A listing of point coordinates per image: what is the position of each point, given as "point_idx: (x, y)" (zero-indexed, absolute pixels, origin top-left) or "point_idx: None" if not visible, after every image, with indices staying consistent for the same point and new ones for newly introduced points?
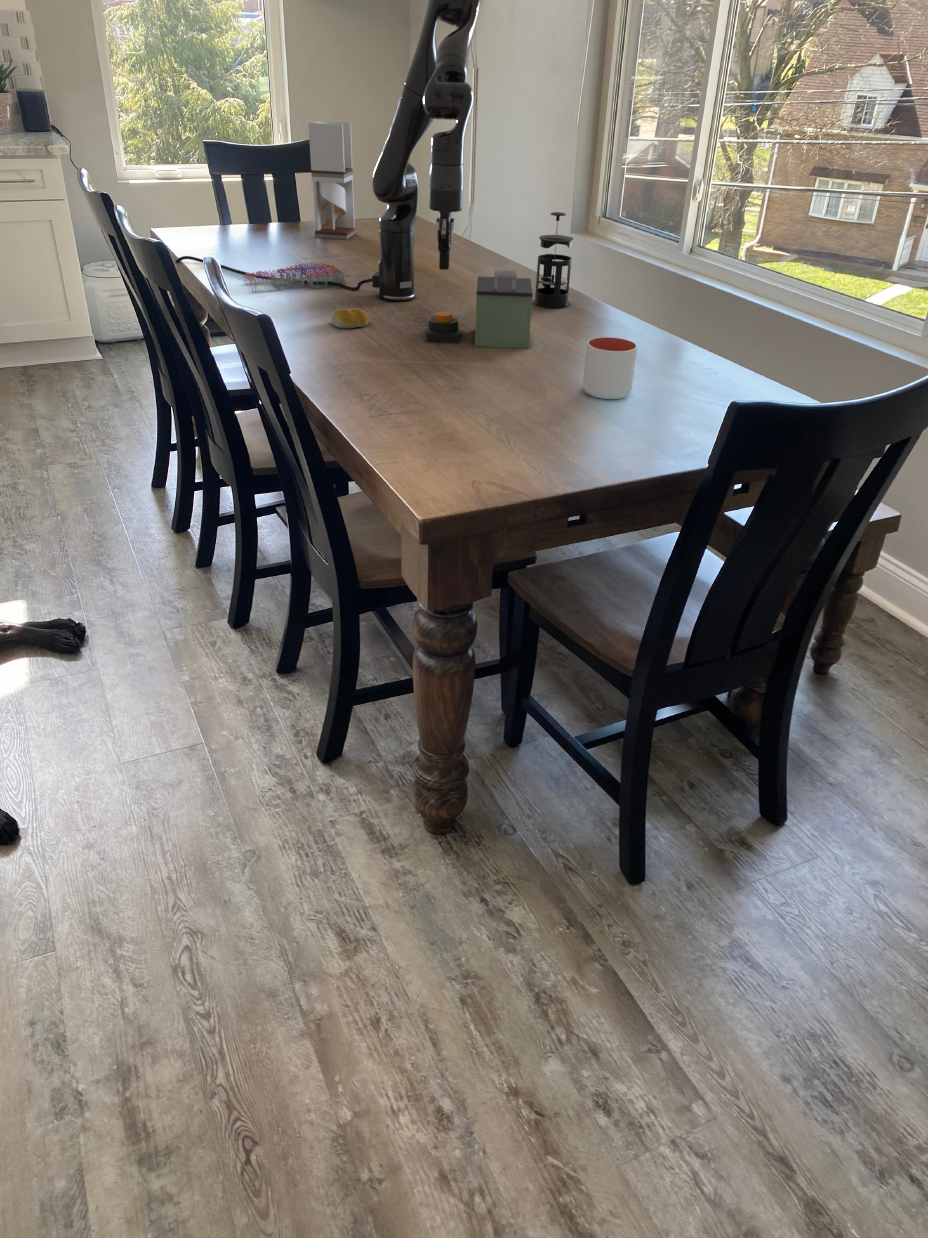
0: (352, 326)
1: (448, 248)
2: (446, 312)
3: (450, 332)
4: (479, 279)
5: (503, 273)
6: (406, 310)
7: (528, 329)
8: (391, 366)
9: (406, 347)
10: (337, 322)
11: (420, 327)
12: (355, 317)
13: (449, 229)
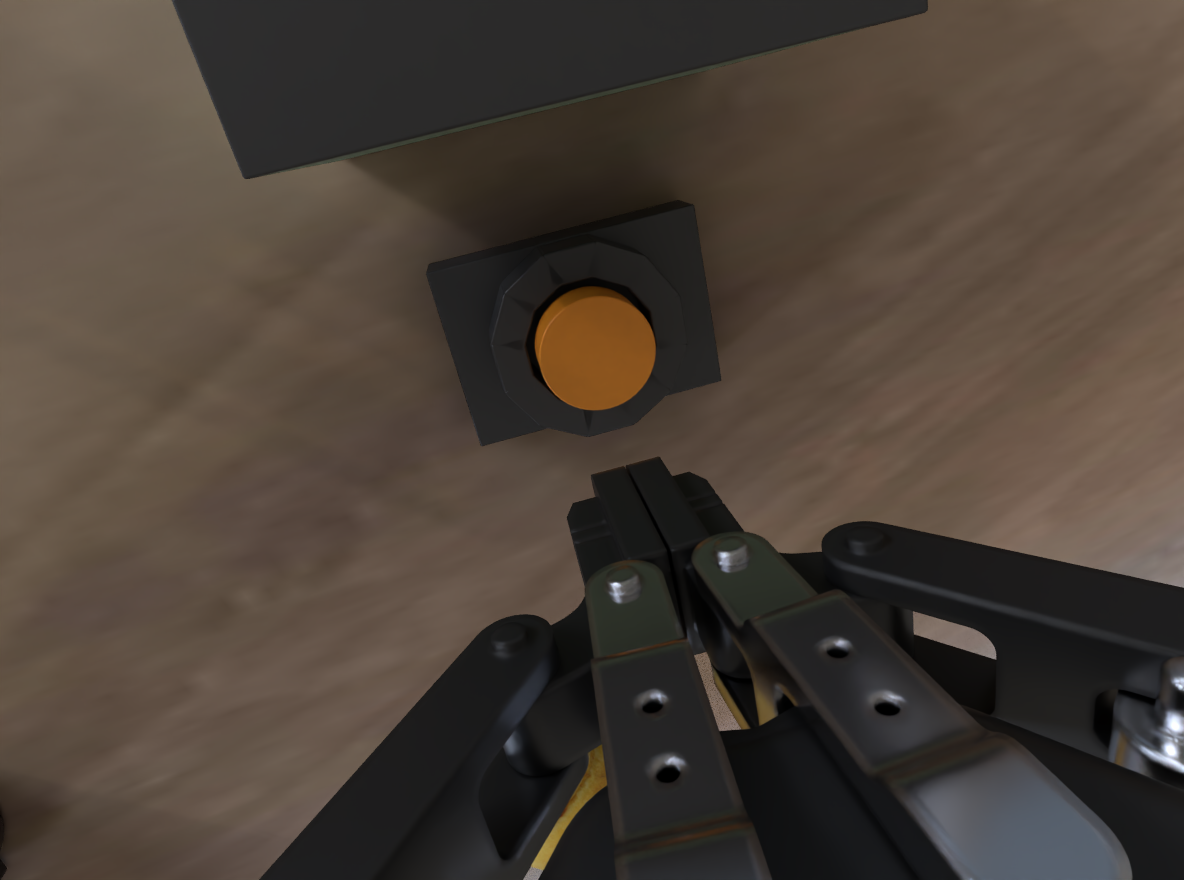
0: None
1: (920, 538)
2: (558, 348)
3: (659, 260)
4: (391, 120)
5: None
6: (142, 678)
7: None
8: (1108, 388)
9: (824, 429)
10: None
11: (447, 493)
12: (589, 774)
13: (1056, 760)
